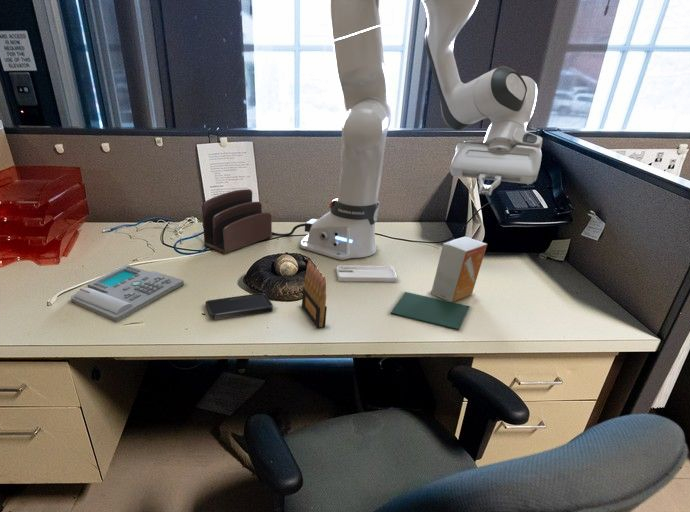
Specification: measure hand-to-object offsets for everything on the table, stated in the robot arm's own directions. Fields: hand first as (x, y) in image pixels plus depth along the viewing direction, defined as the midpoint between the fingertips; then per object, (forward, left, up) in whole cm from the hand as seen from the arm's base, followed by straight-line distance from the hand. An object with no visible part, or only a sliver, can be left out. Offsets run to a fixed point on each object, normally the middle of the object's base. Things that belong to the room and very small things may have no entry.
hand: (484, 193), depth 118 cm
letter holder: (-64, -14, -20) cm, 69 cm away
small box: (0, -19, -20) cm, 27 cm away
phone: (-42, -51, -20) cm, 68 cm away
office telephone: (-72, -58, -20) cm, 94 cm away
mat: (-2, -30, -20) cm, 36 cm away
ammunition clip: (-25, -46, -20) cm, 56 cm away
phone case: (-22, -19, -20) cm, 35 cm away
